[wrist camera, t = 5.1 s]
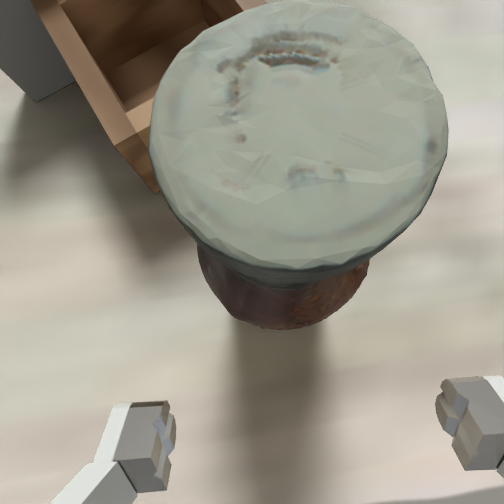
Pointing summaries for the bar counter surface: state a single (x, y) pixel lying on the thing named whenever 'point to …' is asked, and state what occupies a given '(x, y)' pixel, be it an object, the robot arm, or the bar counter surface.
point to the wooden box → (128, 57)
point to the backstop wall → (30, 51)
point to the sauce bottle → (295, 153)
